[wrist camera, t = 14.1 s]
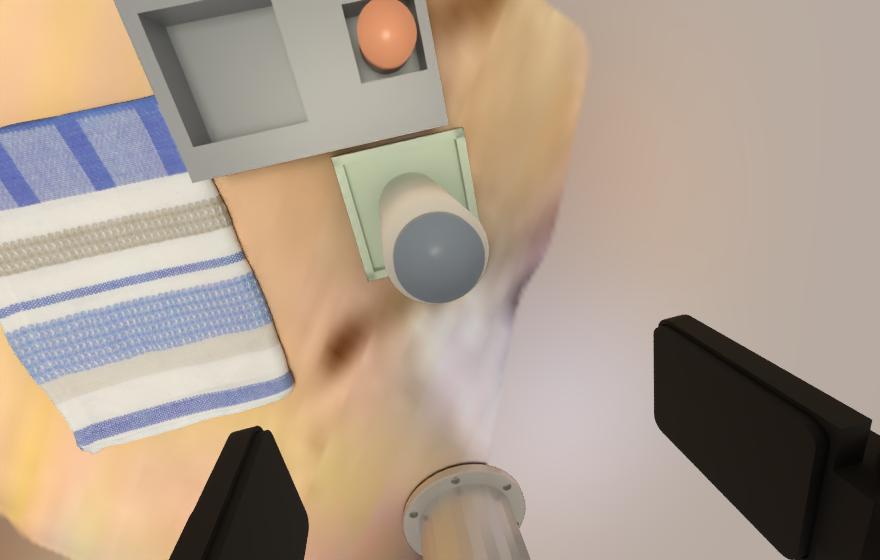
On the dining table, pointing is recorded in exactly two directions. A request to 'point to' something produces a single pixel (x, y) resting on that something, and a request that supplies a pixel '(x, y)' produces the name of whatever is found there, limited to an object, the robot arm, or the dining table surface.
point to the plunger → (386, 35)
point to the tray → (380, 164)
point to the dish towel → (127, 279)
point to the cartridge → (430, 240)
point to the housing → (276, 79)
